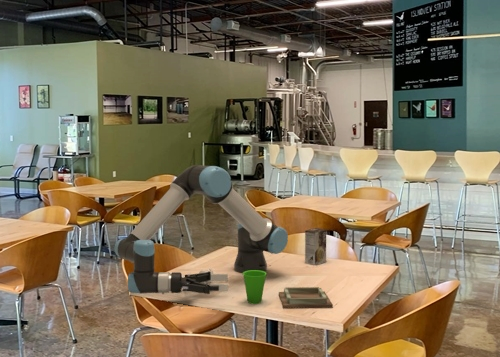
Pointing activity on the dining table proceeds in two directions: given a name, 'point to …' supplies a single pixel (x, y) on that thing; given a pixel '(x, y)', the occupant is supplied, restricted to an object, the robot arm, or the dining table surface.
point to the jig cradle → (304, 298)
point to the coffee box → (315, 246)
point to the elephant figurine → (205, 272)
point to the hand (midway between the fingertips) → (228, 282)
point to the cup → (254, 285)
